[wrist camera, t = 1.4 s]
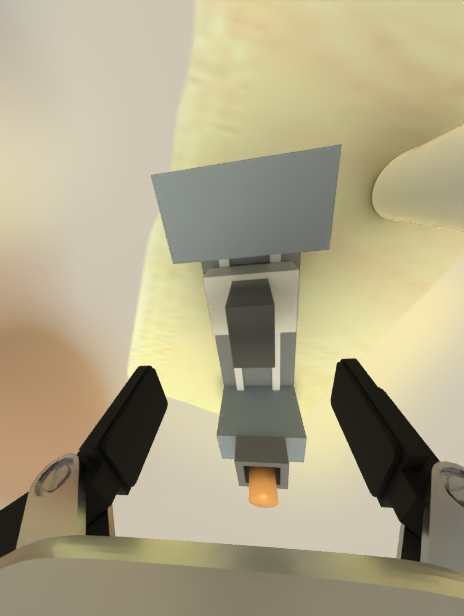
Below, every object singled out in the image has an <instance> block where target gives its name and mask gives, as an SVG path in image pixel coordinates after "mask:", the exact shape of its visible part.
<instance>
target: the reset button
mask: <svg viewBox="0 0 464 616" xmlns="http://www.w3.org/2000/svg"><path fill="white" fill-rule="evenodd" d="M249 502H250V503H251V504H253V505H255V506H258V507H263V508H265V507H266V508H270V507H274V506H276V505H277V504H278V496H277V485H276V475H275V467H258V466H249Z"/></svg>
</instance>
